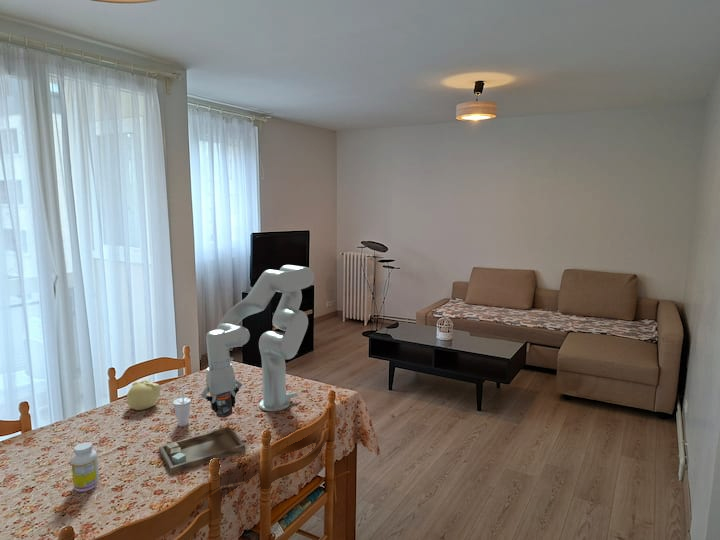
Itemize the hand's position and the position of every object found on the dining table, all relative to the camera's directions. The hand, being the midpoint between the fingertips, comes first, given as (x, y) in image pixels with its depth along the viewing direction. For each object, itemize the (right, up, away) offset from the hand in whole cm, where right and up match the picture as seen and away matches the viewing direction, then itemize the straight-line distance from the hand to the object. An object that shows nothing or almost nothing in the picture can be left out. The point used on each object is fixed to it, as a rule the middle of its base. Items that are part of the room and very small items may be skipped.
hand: (223, 408), depth 176 cm
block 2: (-9, -10, -22) cm, 26 cm away
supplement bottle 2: (0, -3, +1) cm, 3 cm away
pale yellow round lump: (-39, -5, +19) cm, 43 cm away
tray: (-2, -10, -17) cm, 20 cm away
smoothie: (-16, -7, +3) cm, 18 cm away
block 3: (-7, -11, -25) cm, 28 cm away
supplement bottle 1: (-31, -13, -35) cm, 49 cm away
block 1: (-12, -10, -18) cm, 24 cm away
